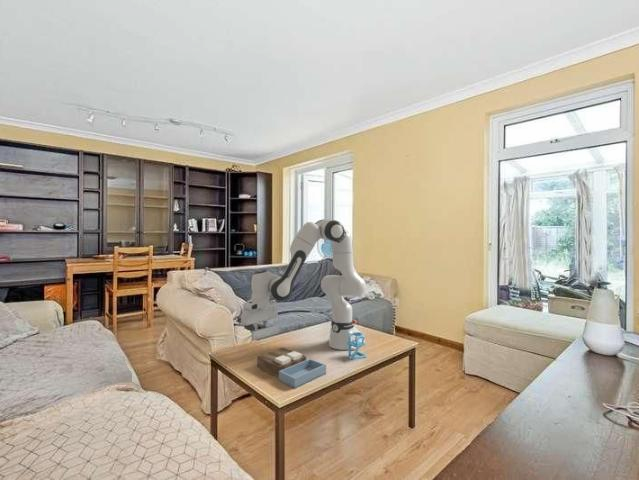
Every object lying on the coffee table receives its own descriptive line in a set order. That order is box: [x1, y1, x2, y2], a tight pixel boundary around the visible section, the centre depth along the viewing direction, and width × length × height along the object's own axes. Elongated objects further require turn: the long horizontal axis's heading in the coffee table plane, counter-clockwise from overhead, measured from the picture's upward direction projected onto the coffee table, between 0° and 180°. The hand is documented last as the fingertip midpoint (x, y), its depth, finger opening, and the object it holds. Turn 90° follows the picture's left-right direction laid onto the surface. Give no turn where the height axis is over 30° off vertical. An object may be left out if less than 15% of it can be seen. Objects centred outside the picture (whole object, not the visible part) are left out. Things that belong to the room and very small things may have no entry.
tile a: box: [287, 350, 303, 360], centre depth 148 cm, size 5×5×2 cm
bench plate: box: [256, 347, 307, 379], centre depth 148 cm, size 16×16×5 cm
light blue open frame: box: [347, 332, 368, 360], centre depth 163 cm, size 8×8×12 cm
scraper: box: [244, 323, 281, 341], centre depth 162 cm, size 18×16×4 cm
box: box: [278, 358, 327, 389], centre depth 139 cm, size 19×10×4 cm, turn 138°
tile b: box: [275, 355, 291, 365], centre depth 143 cm, size 5×5×2 cm
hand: (260, 330), depth 160 cm, fingers closed on scraper, 2 cm apart
